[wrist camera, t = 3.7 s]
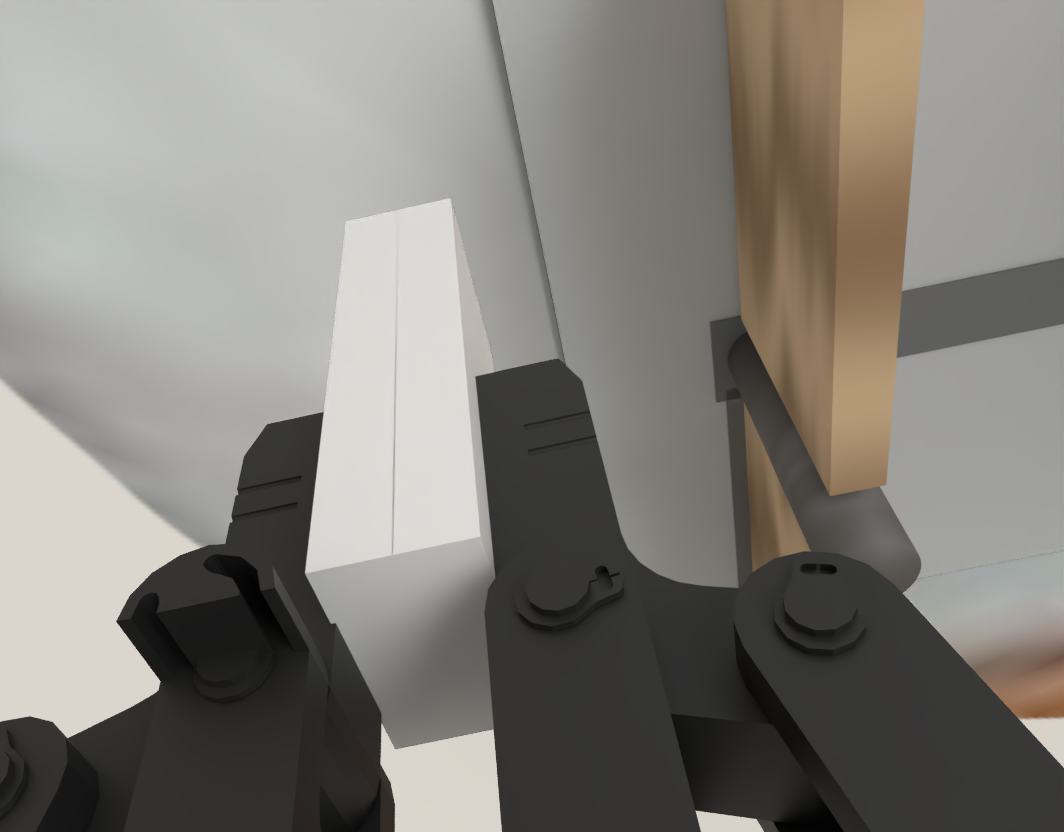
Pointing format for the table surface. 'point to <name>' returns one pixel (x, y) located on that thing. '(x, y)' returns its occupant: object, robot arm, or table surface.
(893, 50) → the fence panel hinged
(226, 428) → the table surface
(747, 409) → the fence panel fixed
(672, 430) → the board
